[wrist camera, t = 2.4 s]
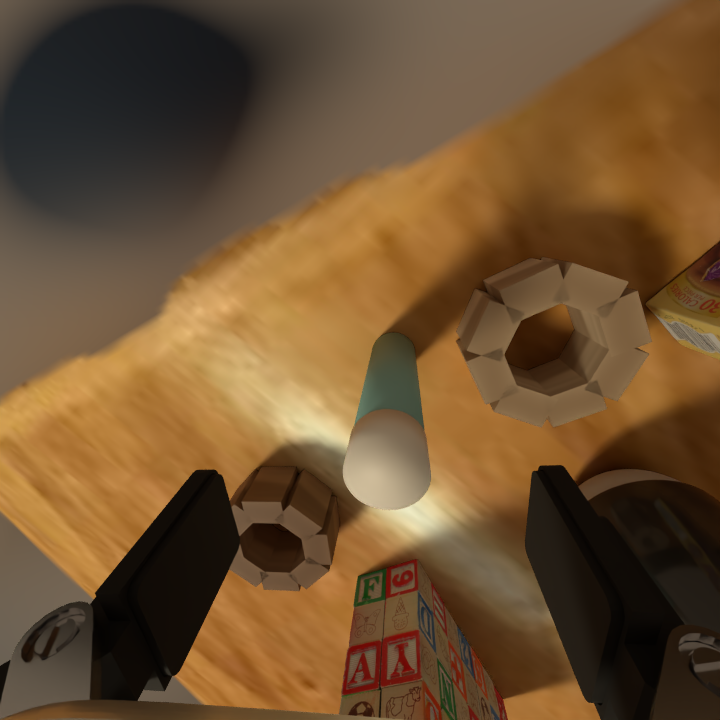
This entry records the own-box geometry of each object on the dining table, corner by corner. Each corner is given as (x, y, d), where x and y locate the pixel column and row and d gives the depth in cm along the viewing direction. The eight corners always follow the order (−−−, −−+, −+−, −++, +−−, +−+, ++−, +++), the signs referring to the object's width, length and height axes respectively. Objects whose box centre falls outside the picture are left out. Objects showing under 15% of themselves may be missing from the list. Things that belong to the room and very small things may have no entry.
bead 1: (332, 466, 28) (321, 502, 25) (343, 549, 31) (335, 592, 28) (228, 467, 30) (203, 501, 26) (249, 547, 33) (229, 587, 29)
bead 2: (581, 233, 20) (621, 234, 17) (621, 363, 23) (665, 388, 19) (438, 301, 23) (445, 315, 19) (488, 412, 25) (503, 444, 21)
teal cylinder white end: (414, 330, 24) (430, 436, 12) (416, 372, 25) (431, 510, 13) (369, 333, 24) (338, 438, 12) (373, 374, 25) (347, 509, 13)
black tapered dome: (617, 571, 29) (824, 899, 15) (513, 514, 28) (627, 805, 14) (722, 490, 25) (1130, 821, 11) (606, 421, 24) (889, 686, 10)
